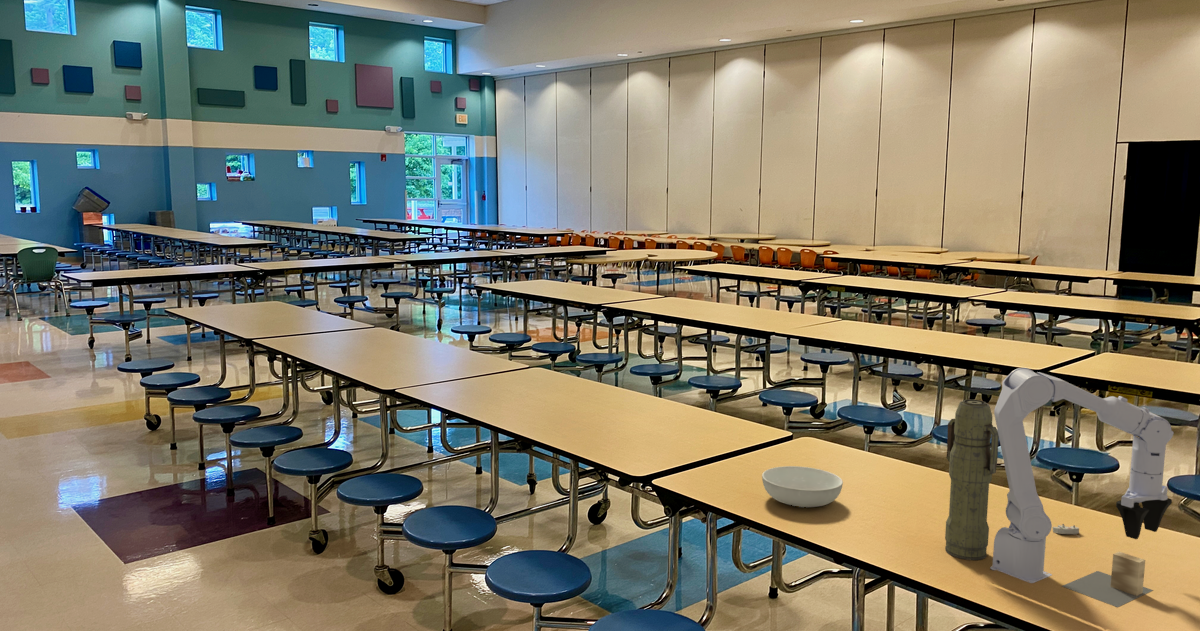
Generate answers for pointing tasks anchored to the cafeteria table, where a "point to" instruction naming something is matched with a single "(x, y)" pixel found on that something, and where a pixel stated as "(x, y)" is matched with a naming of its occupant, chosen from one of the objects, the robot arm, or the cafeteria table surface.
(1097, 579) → the rubber mat
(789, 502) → the serving bowl
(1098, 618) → the cafeteria table surface
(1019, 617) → the cafeteria table surface
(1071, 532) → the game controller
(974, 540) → the thermos
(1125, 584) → the green-faced wooden block
